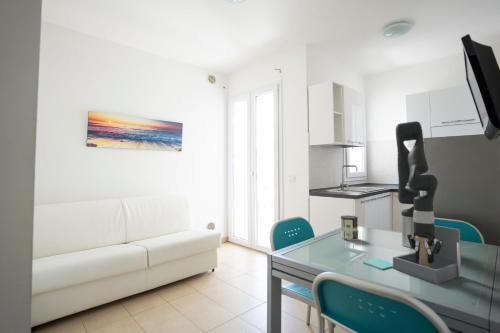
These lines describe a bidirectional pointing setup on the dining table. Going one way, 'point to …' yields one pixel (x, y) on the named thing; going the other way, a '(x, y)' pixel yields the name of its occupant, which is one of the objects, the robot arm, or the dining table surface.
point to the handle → (423, 252)
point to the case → (435, 258)
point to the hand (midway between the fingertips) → (424, 261)
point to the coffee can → (349, 227)
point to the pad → (379, 264)
